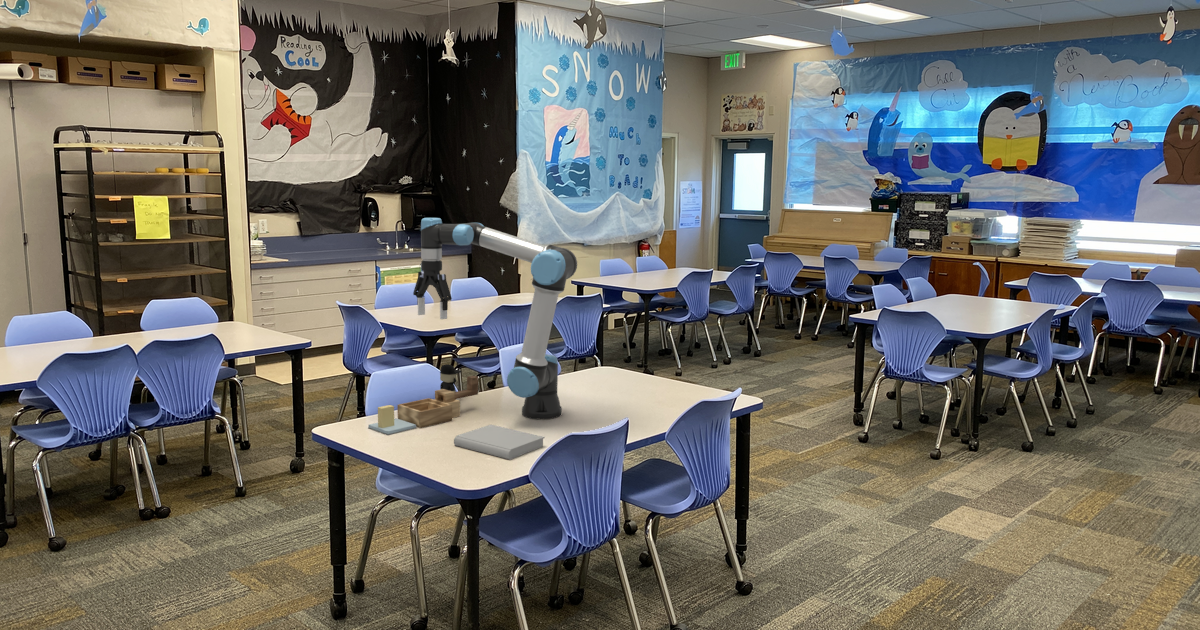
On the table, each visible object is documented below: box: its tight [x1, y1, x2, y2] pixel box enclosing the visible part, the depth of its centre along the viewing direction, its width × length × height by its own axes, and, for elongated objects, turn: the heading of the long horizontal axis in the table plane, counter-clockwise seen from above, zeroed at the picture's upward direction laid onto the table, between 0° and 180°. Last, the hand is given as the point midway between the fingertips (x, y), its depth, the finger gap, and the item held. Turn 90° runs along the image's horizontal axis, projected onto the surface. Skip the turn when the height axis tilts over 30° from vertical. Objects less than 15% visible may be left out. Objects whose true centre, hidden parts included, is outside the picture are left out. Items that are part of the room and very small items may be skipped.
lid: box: [368, 404, 417, 435], centre depth 303 cm, size 12×12×8 cm
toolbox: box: [396, 389, 461, 429], centre depth 315 cm, size 14×20×10 cm
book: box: [453, 424, 545, 461], centre depth 285 cm, size 18×4×24 cm
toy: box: [439, 364, 462, 392], centre depth 342 cm, size 8×8×15 cm
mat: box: [368, 427, 417, 436], centre depth 304 cm, size 12×12×1 cm
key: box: [442, 375, 479, 400], centre depth 324 cm, size 3×15×7 cm, turn 137°
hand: (432, 316), depth 320 cm, fingers open, 13 cm apart
